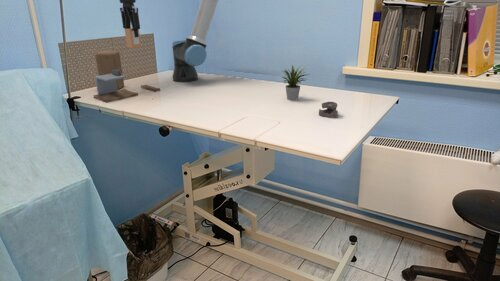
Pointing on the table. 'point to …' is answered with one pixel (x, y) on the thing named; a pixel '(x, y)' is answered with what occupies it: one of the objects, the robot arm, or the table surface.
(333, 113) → the dental mold
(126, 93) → the puzzle board
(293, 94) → the house plant
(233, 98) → the table surface
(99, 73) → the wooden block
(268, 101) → the table surface
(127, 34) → the terracotta block
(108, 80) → the sliding cover
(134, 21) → the robot arm
